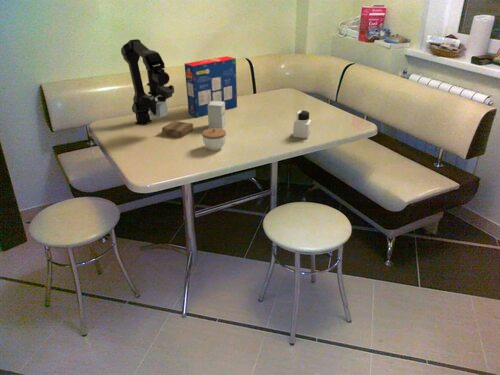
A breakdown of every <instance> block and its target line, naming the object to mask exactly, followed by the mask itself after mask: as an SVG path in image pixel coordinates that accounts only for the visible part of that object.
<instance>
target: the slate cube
mask: <svg viewBox="0 0 500 375" xmlns="http://www.w3.org/2000/svg"><path fill="white" fill-rule="evenodd" d="M155 101H156V102H157V104H156V115H154V114H153V113H152V111H151V110H150V108H149V114H150V117H154V118H161V119H162V117H164V116H166V115H168V105H167V101H166V102H164V101H158V100H155Z"/></svg>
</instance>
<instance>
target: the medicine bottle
mask: <svg viewBox="0 0 500 375" xmlns="http://www.w3.org/2000/svg"><path fill="white" fill-rule="evenodd" d="M295 119H296V120H294V122H293V129H292V130H293V133H292V134H293V136H292V137H293V138H299V139H309V137H310V135H311V131H312V130H311V128H312V120H311V119H310V112H309V111H307V110H298V111H297V112H296V116H295Z"/></svg>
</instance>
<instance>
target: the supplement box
mask: <svg viewBox="0 0 500 375" xmlns="http://www.w3.org/2000/svg"><path fill="white" fill-rule="evenodd" d="M207 117H208V118H207V119H208V129H211V128H220V129H223V130H224V127H225V126H226V110H225V102H222V101H211V102H210V103H209V104H208V115H207Z"/></svg>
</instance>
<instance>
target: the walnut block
mask: <svg viewBox="0 0 500 375" xmlns="http://www.w3.org/2000/svg"><path fill="white" fill-rule="evenodd" d="M193 131H194V123H193V122H192V123H191V122H185V121H179V120H173V121H171V122H170V123H168V124H166V125H164V126H163V127H161V132H162V135H163V136H168V137H174V138H179V139H180V138H181V139H182V138H184V137H186V136H187V135H189V134H190V133H192V132H193Z"/></svg>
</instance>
